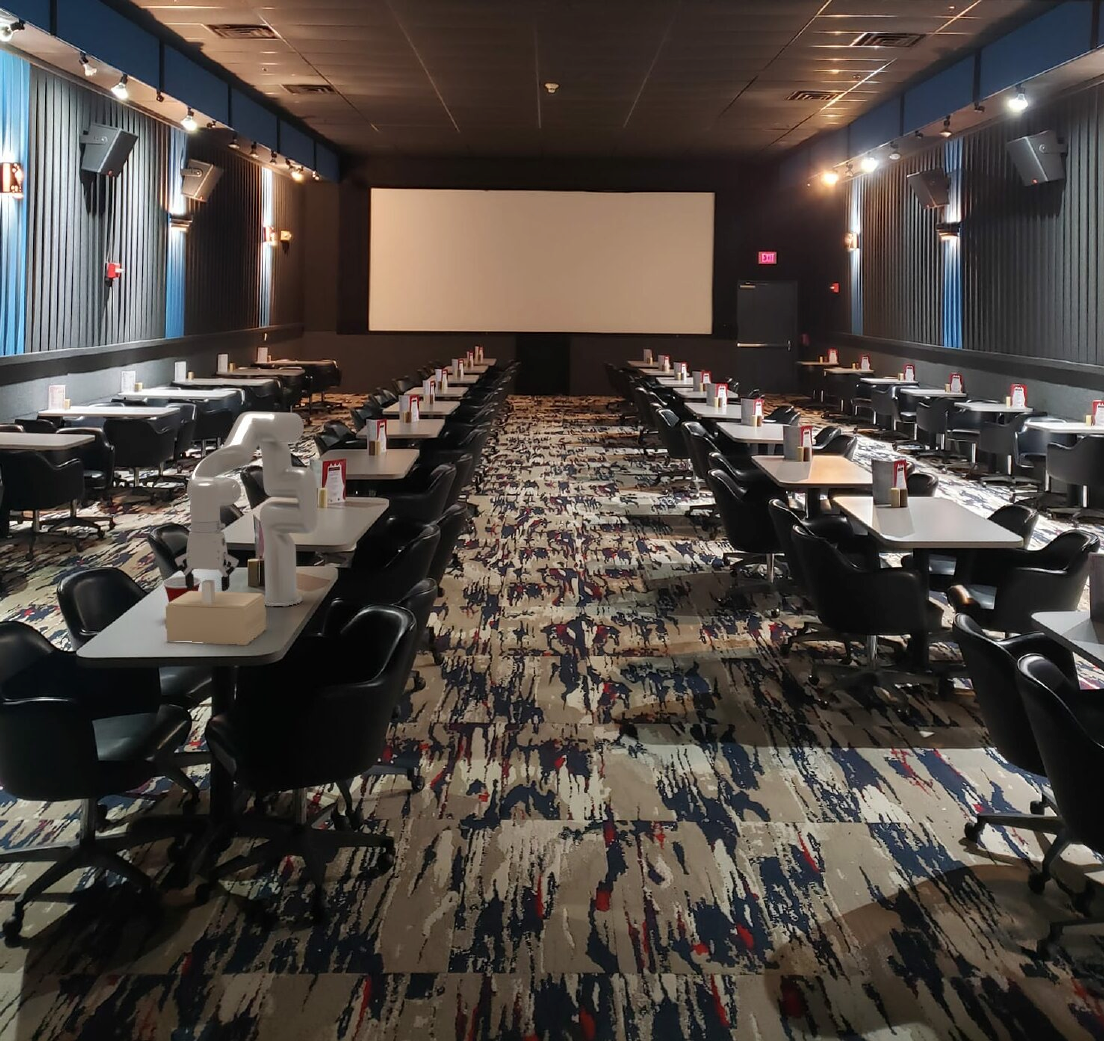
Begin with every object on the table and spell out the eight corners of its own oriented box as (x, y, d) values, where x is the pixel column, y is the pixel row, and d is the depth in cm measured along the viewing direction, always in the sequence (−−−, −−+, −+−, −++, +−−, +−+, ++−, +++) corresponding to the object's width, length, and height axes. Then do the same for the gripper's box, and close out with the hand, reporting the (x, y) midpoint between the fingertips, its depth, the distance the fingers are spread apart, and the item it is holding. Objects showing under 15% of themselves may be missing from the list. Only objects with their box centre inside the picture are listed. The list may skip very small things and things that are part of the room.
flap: (189, 593, 332) (188, 570, 331) (262, 595, 330) (261, 572, 329) (167, 605, 317) (166, 581, 316) (243, 608, 315) (243, 584, 314)
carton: (189, 627, 334) (188, 592, 333) (266, 629, 332) (265, 595, 331) (166, 642, 319) (164, 606, 317) (246, 645, 317) (245, 609, 315)
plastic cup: (161, 625, 335) (159, 584, 333) (166, 616, 346) (164, 576, 344) (201, 624, 338) (199, 583, 335) (204, 615, 348) (202, 575, 346)
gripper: (242, 525, 318) (243, 587, 320) (180, 524, 319) (182, 585, 322) (231, 530, 310) (233, 593, 313) (168, 528, 312) (171, 591, 315)
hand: (207, 589), depth 318 cm, fingers open, 9 cm apart
